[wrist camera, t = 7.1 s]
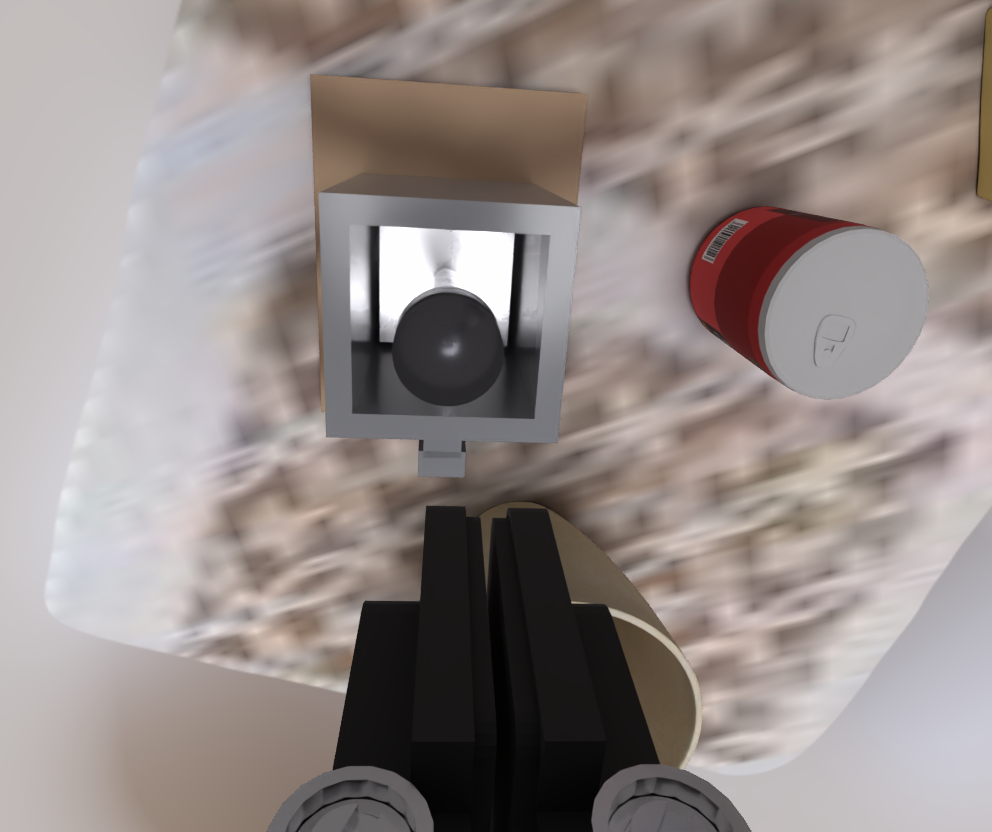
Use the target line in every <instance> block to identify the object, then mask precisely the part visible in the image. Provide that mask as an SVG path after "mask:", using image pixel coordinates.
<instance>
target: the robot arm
mask: <svg viewBox="0 0 992 832" xmlns="http://www.w3.org/2000/svg"><path fill="white" fill-rule="evenodd" d="M267 832H751V830H750V828H749V827H748V825H747V823H746V821H745V820H744V818H743V817H742V816H741V814H740V813H739V812H738V811H737V809H736V808H735V807H734V805H733V804H732V803H731V801H730V800H729V799H728V798H727V797H726V796H725V795H723V794H722V793H721V792H720V791H719V790H717V789H716V788H715V787H714V786H712V785H711V784H710V783H709V782H707V781H705V780H704V779H702V778H700V777H698V776H696V775H694V774H692V773H690V772H688V771H686V770H682V769H678V768H675V767H671V766H667V765H663V764H660V761H659V758H658V755H657V752H656V749H655V746H654V743H653V740H652V737H651V734H650V731H649V728H648V725H647V722H646V719H645V716H644V713H643V710H642V707H641V704H640V701H639V698H638V694H637V691H636V688H635V685H634V682H633V679H632V676H631V673H630V670H629V667H628V664H627V661H626V658H625V655H624V652H623V649H622V646H621V643H620V640H619V637H618V634H617V631H616V627H615V624H614V621H613V618H612V615H611V613H610V611H609V608H608V607H607V606H606V605H605V604H580V603H571V599H570V595H569V591H568V587H567V583H566V579H565V575H564V571H563V567H562V563H561V559H560V555H559V551H558V547H557V543H556V540H555V536H554V532H553V528H552V524H551V520H550V516H549V512H548V510H547V509H546V508H508V509H507V513H506V518H492V523H491V537H490V551H489V566H488V581H487V593H486V581H485V568H484V555H483V542H482V529H481V518H480V517H466V510H465V507H460V506H426V517H425V533H424V549H423V565H422V581H421V597H420V602H418V601H365V602H364V603H363V607H362V611H361V617H360V622H359V628H358V633H357V639H356V644H355V649H354V655H353V660H352V666H351V671H350V677H349V682H348V688H347V693H346V699H345V705H344V710H343V716H342V721H341V726H340V732H339V737H338V743H337V749H336V754H335V759H334V765H333V770H332V771H329V772H325V773H323V774H321V775H319V776H317V777H316V778H314V779H312V780H310V781H308V782H307V783H305V784H303V785H301V786H300V787H299V788H298V789H297V790H296V791H295V792H294V793H293V794H292V795H291V796H290V797H289V798H288V799H287V800H286V801H284V802H283V804H282V805H281V807H280V808H279V810H278V812H277V813H276V815H275V817H274V818H273V820H272V822H271V823H270V825H269V827H268V829H267Z"/></svg>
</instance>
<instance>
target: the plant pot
mask: <svg viewBox="0 0 992 832" xmlns="http://www.w3.org/2000/svg"><path fill="white" fill-rule="evenodd" d="M508 508H546V507H544V506H541V505H539V504H535V503H531V502H509V503H504V504H500V505H497V506H495V507H493V508H491V509H489V510H487V511H485V512H484V513H483V514H481V515H480V516H479V517H480V518H481V529H482V542H483V555H484V568H485V581H486V593H487V581H488V566H489V551H490V537H491V523H492V518H506V513H507V509H508ZM546 509H547V510H548V512H549V516H550V520H551V524H552V528H553V532H554V536H555V540H556V543H557V547H558V551H559V555H560V559H561V563H562V567H563V571H564V575H565V579H566V583H567V587H568V591H569V595H570V599H571V603H580V604H605V605H606V606H607V607H608V608H609V611H610V613H611V615H612V618H613V621H614V624H615V627H616V631H617V634H618V637H619V640H620V643H621V646H622V649H623V652H624V655H625V658H626V661H627V664H628V667H629V670H630V673H631V676H632V679H633V682H634V685H635V688H636V691H637V694H638V698H639V701H640V704H641V707H642V710H643V713H644V716H645V719H646V722H647V725H648V728H649V731H650V734H651V737H652V740H653V743H654V746H655V749H656V752H657V755H658V758H659V761H660V764H663V765H667V766H671V767H675V768H678V769H682V770H684V769H685V767H686V766H687V764H688V763H689V761H690V759H691V757H692V754H693V752H694V750H695V748H696V745H697V743H698V740H699V736H700V732H701V725H702V697H701V692H700V688H699V684H698V681H697V678H696V676H695V674H694V671H693V669H692V667H691V665H690V664H689V662H688V660H687V659H686V657H685V656H684V654H683V653H682V652H681V650H680V649H679V647H678V646H677V644H676V643H675V641H674V640H673V638H672V637H671V635H670V634H669V632H668V631H667V630H666V628H665V627H664V625H663V624H662V622H661V621H660V620H659V618H658V617H657V615H656V614H655V613H654V611H653V610H652V608H651V607H650V605H649V604H648V603H647V601H646V600H645V599H644V598H643V596H642V595H641V594H640V592H639V591H638V590H637V589H636V587H635V586H634V585H633V584H632V583H631V582H630V580H629V579H628V578H627V577H626V576H625V575H624V573H623V572H622V571H621V570H620V569H619V568H618V567H617V566H616V565H615V564H614V563H613V561H612V560H611V559H610V558H609V557H608V556H607V555H606V554H605V553H604V552H603V551H602V550H601V549H600V548H599V547H598V546H596V545H595V544H594V543H593V542H592V541H591V540H590V539H589V538H588V537H587V536H585V535H584V534H583V533H582V532H581V531H580V530H578V529H577V528H576V527H574V526H573V525H572V524H570V523H569V522H568V521H566V520H565V519H564V518H562V517H561V516H559V515H558V514H556V513H555V512H553V511H551V510H549V509H548V508H546Z"/></svg>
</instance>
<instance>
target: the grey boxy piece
mask: <svg viewBox="0 0 992 832" xmlns="http://www.w3.org/2000/svg"><path fill="white" fill-rule="evenodd" d="M580 215H581V207H580V206H578V205H576V204H574V203H572V202H570V201H568V200H566V199H564V198H562V197H560V196H558V195H556V194H554V193H552V192H550V191H548V190H546V189H543V188H541V187H539V186H537V185H535V184H533V183H522V182H505V181H488V180H471V179H455V178H438V177H421V176H404V175H388V174H371V173H361V174H359V175H357V176H354V177H352V178H350V179H348V180H345V181H343V182H341V183H339V184H336V185H334V186H332V187H329V188H327V189H325V190H323V191H320V192H319V221H320V253H321V285H322V317H323V350H324V382H325V414H326V437H339V438H377V439H415V440H419V457H418V477H465V461H466V447H465V441H491V442H529V443H558V433H559V423H560V413H561V403H562V393H563V383H564V373H565V364H566V354H567V344H568V334H569V324H570V314H571V304H572V294H573V284H574V274H575V264H576V254H577V244H578V235H579V225H580ZM380 226H389V227H407V228H426V229H445V230H464V231H483V232H502V233H515V237H514V251H513V266H512V281H511V295H510V310H509V325H508V339H507V347H506V346H504V360H503V365H502V369H501V372H500V374H499V376H498V378H497V380H496V381H495V383H494V384H493V385H492V387H491V388H490V389H489V390H488V391H487V392H486V393H485V394H483V395H482V396H481V397H479V398H477V399H476V400H474V401H471V402H469V403H466V404H463V405H458V406H438V405H434V404H430V403H427V402H425V401H423V400H421V399H419V398H417V397H416V396H414V395H413V394H412V393H411V392H410V391H408V390H407V388H406V387H405V386H404V385H403V384H402V382H401V381H400V379H399V377H398V375H397V373H396V371H395V368H394V364H393V359H392V345H393V342H380Z"/></svg>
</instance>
